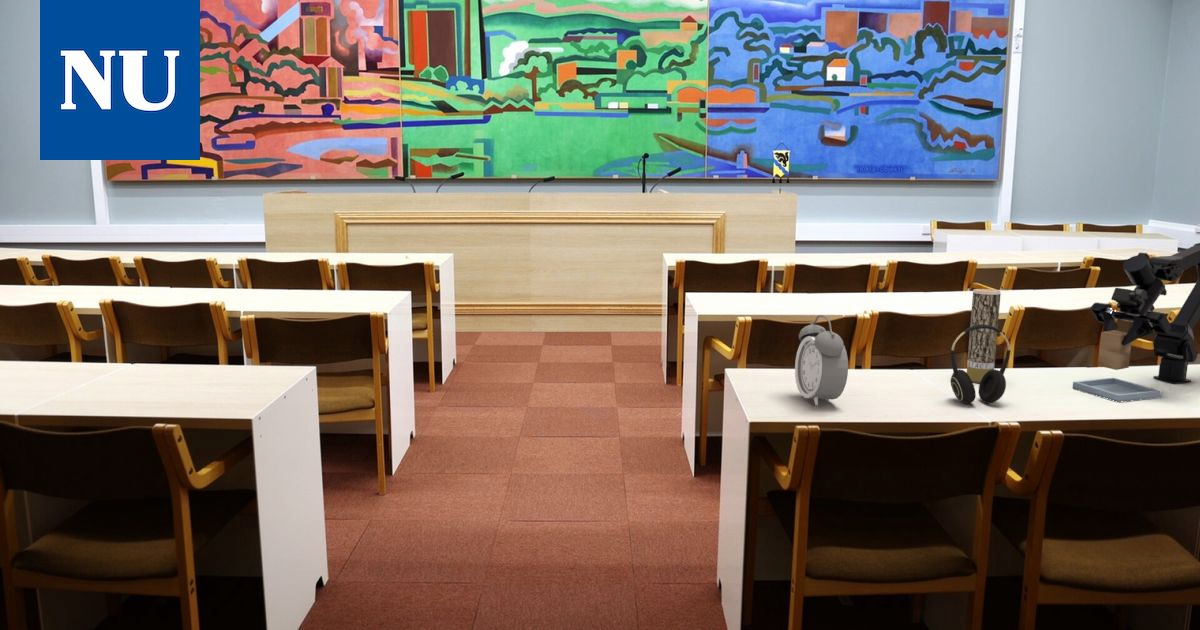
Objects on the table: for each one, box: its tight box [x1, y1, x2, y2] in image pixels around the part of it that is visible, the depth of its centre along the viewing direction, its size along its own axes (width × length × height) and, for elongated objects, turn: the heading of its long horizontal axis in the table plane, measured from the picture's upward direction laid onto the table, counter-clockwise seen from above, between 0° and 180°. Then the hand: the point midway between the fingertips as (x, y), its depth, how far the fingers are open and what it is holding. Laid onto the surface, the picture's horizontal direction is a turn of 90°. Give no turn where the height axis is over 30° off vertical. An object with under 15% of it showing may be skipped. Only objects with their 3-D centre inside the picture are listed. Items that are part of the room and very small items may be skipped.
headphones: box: [950, 324, 1012, 404], centre depth 216 cm, size 9×15×20 cm, turn 91°
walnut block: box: [1097, 330, 1132, 371], centre depth 226 cm, size 5×5×9 cm
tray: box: [1072, 377, 1162, 403], centre depth 227 cm, size 14×14×2 cm
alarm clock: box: [794, 314, 849, 406], centre depth 217 cm, size 16×9×22 cm, turn 9°
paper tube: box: [966, 288, 1002, 384], centre depth 237 cm, size 7×7×25 cm
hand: (1112, 342), depth 225 cm, fingers closed on walnut block, 5 cm apart
